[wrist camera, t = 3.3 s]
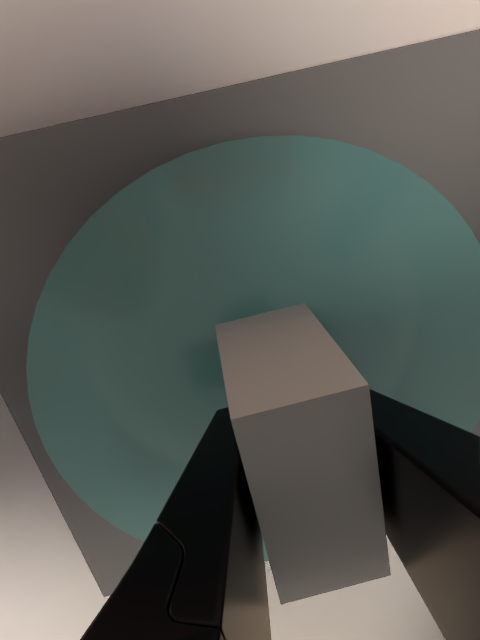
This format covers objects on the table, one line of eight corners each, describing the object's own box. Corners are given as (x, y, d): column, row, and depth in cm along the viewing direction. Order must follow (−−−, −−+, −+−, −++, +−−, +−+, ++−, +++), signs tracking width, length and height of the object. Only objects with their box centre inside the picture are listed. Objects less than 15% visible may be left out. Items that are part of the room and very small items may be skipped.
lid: (474, 479, 13) (607, 630, 9) (125, 571, 13) (97, 772, 9) (473, 83, 9) (725, 23, 5) (-46, 205, 9) (-261, 255, 4)
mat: (492, 484, 14) (500, 493, 14) (106, 584, 14) (104, 596, 13) (504, 26, 9) (517, 20, 9) (-103, 163, 9) (-116, 163, 8)
